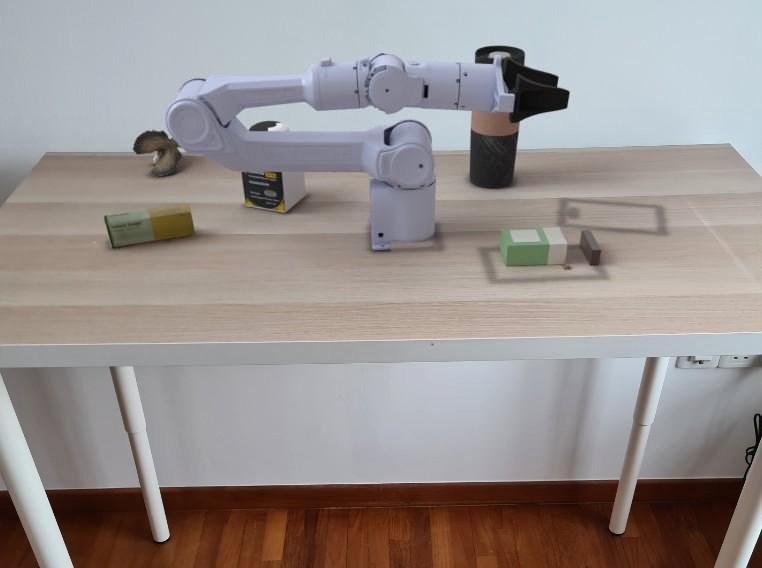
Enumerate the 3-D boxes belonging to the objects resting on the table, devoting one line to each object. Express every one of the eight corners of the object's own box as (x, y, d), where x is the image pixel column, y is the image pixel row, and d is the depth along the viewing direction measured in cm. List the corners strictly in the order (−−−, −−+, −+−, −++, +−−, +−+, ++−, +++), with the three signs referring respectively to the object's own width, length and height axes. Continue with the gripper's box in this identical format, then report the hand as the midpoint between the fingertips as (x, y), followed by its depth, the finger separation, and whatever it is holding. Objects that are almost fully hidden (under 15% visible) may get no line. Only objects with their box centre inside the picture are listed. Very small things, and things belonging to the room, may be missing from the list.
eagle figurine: (143, 149, 141) (123, 159, 133) (160, 114, 138) (141, 121, 130) (181, 174, 143) (164, 185, 135) (199, 140, 140) (183, 149, 132)
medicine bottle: (244, 206, 125) (234, 129, 118) (267, 189, 130) (259, 114, 123) (285, 214, 123) (277, 135, 116) (306, 196, 128) (300, 120, 121)
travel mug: (522, 177, 134) (534, 49, 121) (501, 193, 129) (512, 61, 116) (481, 167, 137) (489, 42, 125) (459, 182, 132) (465, 54, 120)
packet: (505, 266, 107) (507, 245, 105) (499, 248, 111) (501, 228, 109) (564, 264, 108) (567, 243, 106) (556, 246, 112) (559, 226, 110)
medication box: (110, 249, 114) (104, 224, 111) (109, 239, 116) (102, 214, 113) (196, 235, 117) (191, 210, 114) (193, 225, 119) (188, 201, 116)
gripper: (465, 66, 95) (579, 72, 96) (456, 41, 107) (557, 46, 108) (460, 127, 99) (568, 132, 100) (451, 96, 111) (548, 101, 112)
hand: (562, 91), depth 104 cm, fingers open, 7 cm apart
